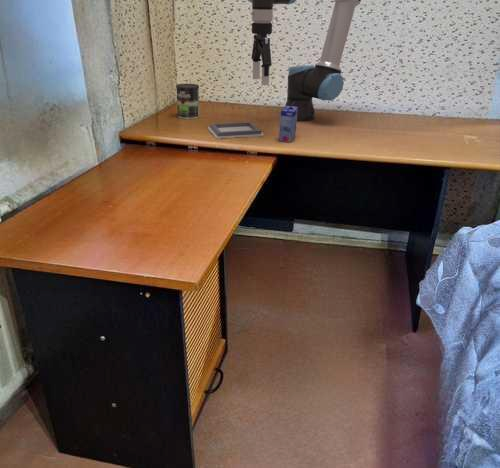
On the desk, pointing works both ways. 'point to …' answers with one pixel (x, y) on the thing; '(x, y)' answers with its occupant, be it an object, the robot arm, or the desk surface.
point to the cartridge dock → (234, 130)
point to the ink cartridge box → (288, 123)
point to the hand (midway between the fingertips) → (260, 82)
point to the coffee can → (188, 101)
